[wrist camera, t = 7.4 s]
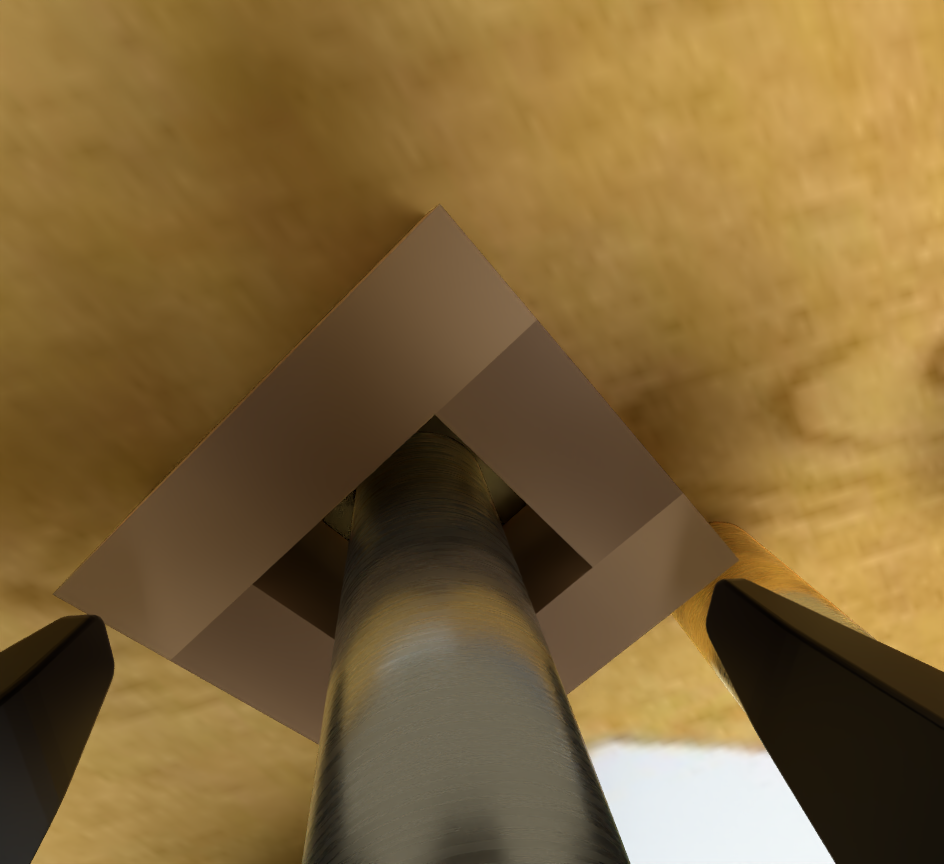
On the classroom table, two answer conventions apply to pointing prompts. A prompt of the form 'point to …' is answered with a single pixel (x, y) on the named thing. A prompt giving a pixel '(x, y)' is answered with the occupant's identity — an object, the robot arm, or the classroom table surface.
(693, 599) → the short pin
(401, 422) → the collar
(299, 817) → the classroom table surface
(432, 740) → the long pin
